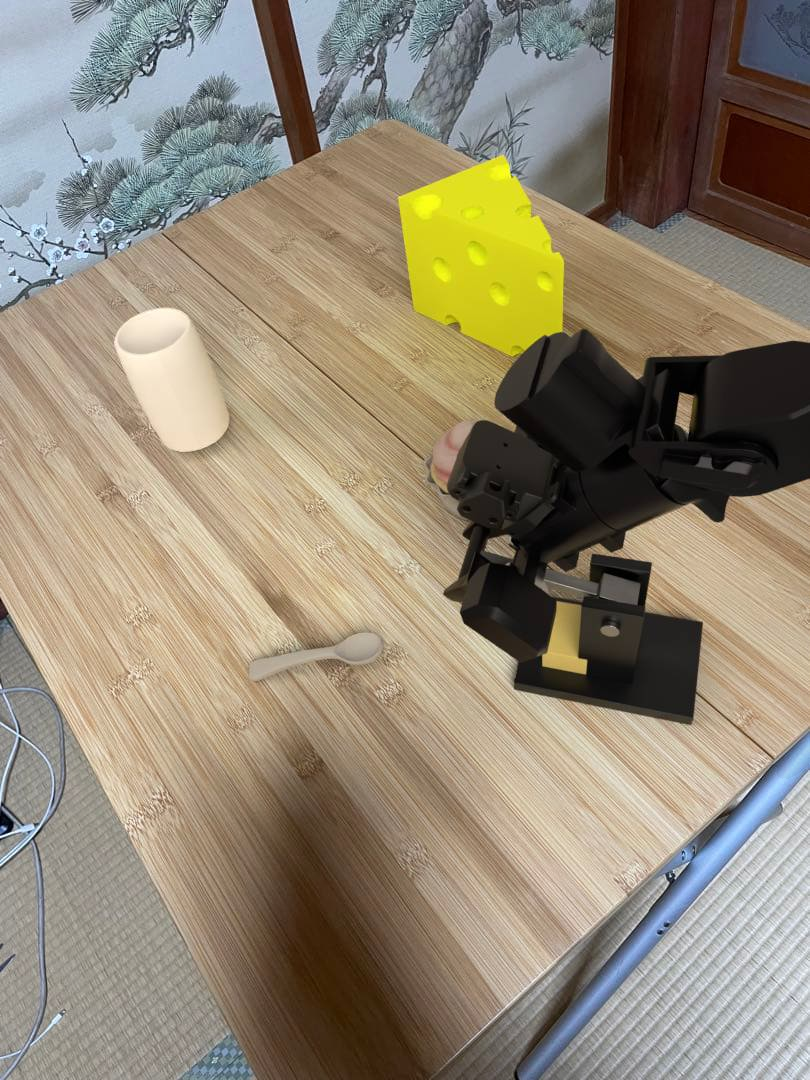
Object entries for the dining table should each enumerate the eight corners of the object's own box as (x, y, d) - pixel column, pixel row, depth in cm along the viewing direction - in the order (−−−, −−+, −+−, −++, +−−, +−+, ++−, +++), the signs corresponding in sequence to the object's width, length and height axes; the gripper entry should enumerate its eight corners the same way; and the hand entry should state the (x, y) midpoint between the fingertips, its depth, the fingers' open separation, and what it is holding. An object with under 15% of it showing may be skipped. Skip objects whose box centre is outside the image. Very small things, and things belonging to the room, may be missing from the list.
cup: (228, 399, 96) (188, 295, 85) (241, 447, 91) (200, 342, 80) (157, 422, 95) (106, 320, 84) (166, 471, 90) (113, 369, 79)
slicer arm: (454, 592, 63) (458, 575, 61) (471, 536, 66) (475, 518, 64) (624, 642, 62) (634, 626, 60) (634, 582, 65) (643, 565, 63)
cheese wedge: (583, 271, 103) (588, 154, 91) (561, 379, 91) (564, 260, 80) (430, 266, 108) (417, 154, 96) (391, 368, 96) (371, 254, 84)
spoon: (387, 664, 71) (382, 652, 70) (254, 693, 72) (246, 682, 71) (384, 635, 73) (379, 623, 72) (254, 664, 74) (246, 652, 73)
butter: (553, 616, 71) (553, 600, 69) (596, 623, 70) (597, 607, 68) (542, 666, 68) (542, 651, 66) (586, 674, 67) (587, 659, 65)
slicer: (513, 690, 69) (509, 618, 60) (535, 601, 74) (534, 523, 65) (691, 725, 65) (713, 654, 56) (701, 629, 70) (722, 550, 61)
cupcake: (485, 550, 78) (478, 478, 70) (409, 507, 82) (396, 435, 75) (543, 489, 82) (543, 413, 74) (468, 451, 86) (460, 376, 78)
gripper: (549, 319, 56) (412, 421, 67) (484, 532, 45) (335, 610, 57) (658, 418, 60) (511, 498, 71) (622, 635, 49) (456, 688, 61)
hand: (457, 565), depth 65 cm, fingers closed on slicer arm, 5 cm apart
